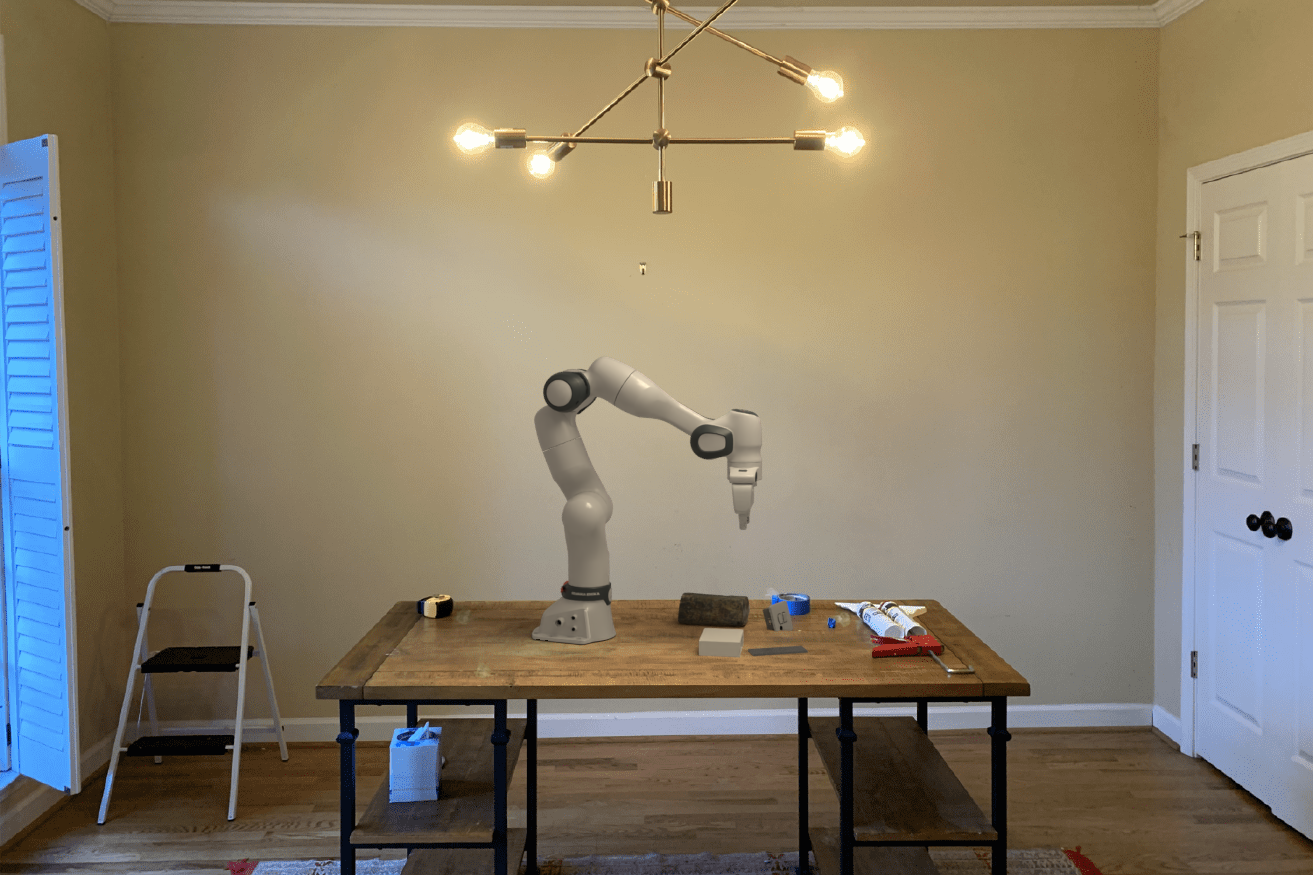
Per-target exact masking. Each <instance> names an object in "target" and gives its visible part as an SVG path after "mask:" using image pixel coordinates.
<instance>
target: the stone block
mask: <svg viewBox="0 0 1313 875" xmlns="http://www.w3.org/2000/svg"><path fill="white" fill-rule="evenodd" d="M677 611H678V613H677V623H678V624H681V625H682V624H685V625H698V626H701V625H704V626H734V627H735V626H736V627H743V626H744V625H746V624H747V622H748V619H749V615H750V612H751V606H750V601H749V597H748V596H746V595H745V596H744V595H732V594H731V595H723V594H710V593H709V594H708V593H697V592H696V593H695V592H683V593H682V595H681V596H680V600H679V605H678V610H677Z"/></svg>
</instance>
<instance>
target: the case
mask: <svg viewBox="0 0 1313 875" xmlns="http://www.w3.org/2000/svg"><path fill="white" fill-rule="evenodd" d="M744 632H745V631H744V628H743V629H739V628H715V627H713V628H712V627H703V630H702V632H701V635H700V637H699V640H698V656H702V657H703V656H704V657H720V658H721V657H722V658H723V657H725V658H726V657H727V658H741V656H742V655H741V654H742V650H743V647H744Z"/></svg>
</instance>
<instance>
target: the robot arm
mask: <svg viewBox="0 0 1313 875" xmlns="http://www.w3.org/2000/svg"><path fill="white" fill-rule="evenodd" d="M542 390H543V391H542V392H543V399H544V402H545V403H546V405H544V406H543V407H541V408H539V409H538V411H537V412H536V413H535V415H534V419H533V420H534V428H535V432H536V438H537V440H538V443H539V446H540V450H541V451H542V454H543V457H544V459H545V462H546V465H547V466H548V469H549V472H550V474H551V477H552V479H553V480H554V482H555V484H557V485H558V487H559V489H560V491H561V492H562V495H563V496H564V497H565V499H566V501H567V502H565V505H564V507H563V509H562V513H561V522H562V525H563V531H564V538H565V544H566V550H567V564H568V566H567V567H568V568H567V569H568V571H567V572H568V574H567V575H568V580H566V581H564V582H563V583H562V585H561V588H560V593H561V597H560V598H559V599H557V600H556V601H555V602H553V603H552V604H551V605H550V606H548V607H547V608H546V609H545V610H544V611H543V613H542V614H541V619H540V625H539V626H537V627H535V628H534V629H533V630H532V633H531V638H532V639H533V640H536V639H540V640H539V641H545V640H548V641H547V642H555V643H556V642H557V643H563V644H564V643H566V644H575V645H586V644H590V643H594V642H599V641H604V640H605V641H606V640H608V639H612V638H614V637H615V636H616V635H617V632H616V629H615V625H614V619H613V615H612V607H611V603H612V600H613V599H612V598H613V591H612V589H613V588H612V582H611V581H610V552H609V549H608V548H609V547H608V543H607V534H606V524H608V522H609V521H610V519H611V518H612V515H613V510H614V504H613V500H612V498H611V497H610V495H609V493H608V491H607V489H606V488H605V486H604V484H603V482H602V480H601V478H600V476H599V474H598V472H597V471H596V469H595V467H594V465H593V462H592V461H591V458H590V456H589V454H588V451H587V448H586V446H585V444H584V441H583V438H582V437H581V434H580V431H579V429H578V426H577V422H576V418H577V415H581V414H582V413H583V412H585V410H586V409H588V408H589V407H590V406H591V405H592V404H593V403H594V402H595V401H596V399H597V398H600V399H602V400H604V401H606V402H608V403H609V404H611V405H612V406H614V407H615V408H618V410H621V411H622V412H624V413H626V414H628V415H632V416H634V417H637V418H641V419H642V418H643V419H653V420H657V421H663V422H665V423H667V424H670V425H671V426H673V427H674V428H676V429H677V430H679V431H681V432H683V433H684V434H686V435H688V436H690V439H689V444H690V449H691V451H692V452H693V454H694V455H696V456H697V457H698V458H700V459H703V460H706V461H707V460H708V461H711V460H717V459H718V458H726V467H727V468H726V472H727V473H726V474H727V475H726V476H727V477H726V479H727V480H728V481H729V484H731V492H732V493H731V494H732V503H733V504H732V505H733V509H734V513H735V514H736V515H738V516H737V517H738V521H739V522H738V523H739V530H741V531H746V530H747V529H748V524H750V520H751V518H750V517H751V515H750V514H751V509H752V507H753V505H754V503H755V487H758V482H759V481H761V480H762V479H763V475H762V474H763V459H762V455H761V448H762V445H763V432H762V430H763V429H762V423H761V417H759V415H758V414H757V413H756V412H754V411H752V410H747V409H740V408H739V409H738V408H733V409H730V410H729V411H728V412H727V413H725V414H723V415H722V416H719V417H717V418H709V417H707V416H705V415H702V414H701V413H698V412H696V411H695V410H693V409H691V408H690V407H688V406H687V405H685V404H683V403H682V402H680V401H678V400H677V399H675V398H673V397H672V396H671V395H670V394H668V393H667V391H665V390H664V389H662V388H661V387H660V386H659V385H658V384H656V382H654V381H653V380H652V379H650V378H649V377H648V376H646V375H645V374H643V372H641V371H639V370H637V369H636V368H634V367H633V366H631V365H629V364H627V363H625V362H623V361H621V360H618V359H616V358H613V357H610V356H605V355H603V356H600V357H598V358H597V359H595V360H593V362H592V363H591V364H590V366H589V367H588V369H587V370H586V369H583V368H570V369H565V370H562V371H559V372H555V373H554V374H552V375H550V377H549V378H548V379H547V380H546V381H545V383H544V386H543V389H542Z"/></svg>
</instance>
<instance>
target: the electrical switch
mask: <svg viewBox="0 0 1313 875" xmlns="http://www.w3.org/2000/svg"><path fill="white" fill-rule="evenodd" d="M762 612H763V617H764V620H765V625H766V630H768V631H769V630H770V631H774V632H779V631H793V630H794V627H793V622H792V617H791V613H790V609H789V606H788V602H787V601H786V600H781V601H779V602H776V603H774V604H771V605H768V607H766V608H762Z"/></svg>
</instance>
